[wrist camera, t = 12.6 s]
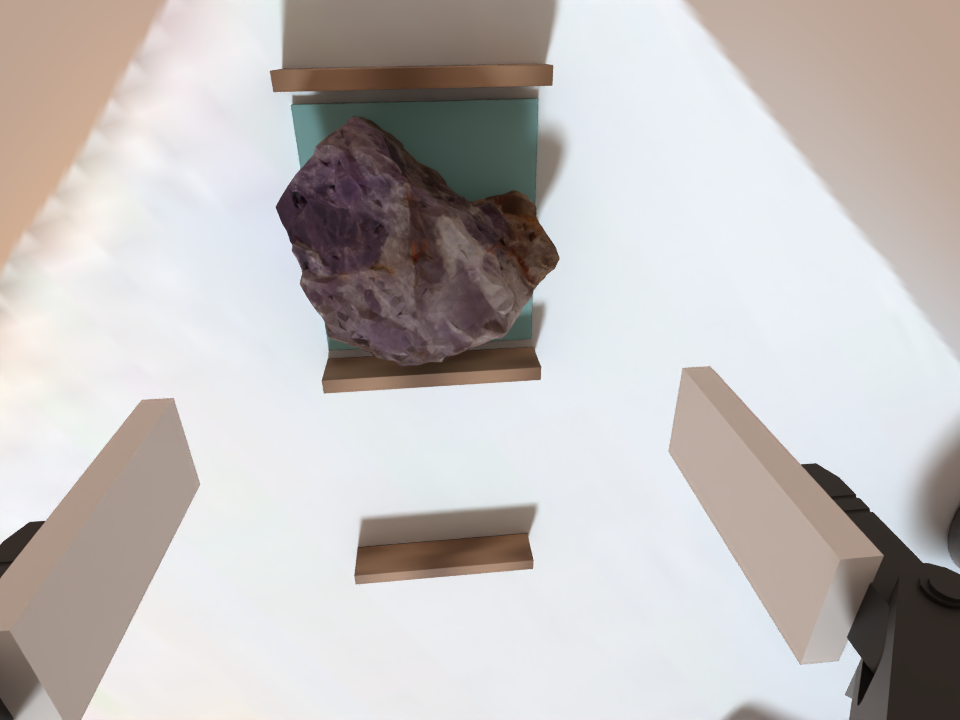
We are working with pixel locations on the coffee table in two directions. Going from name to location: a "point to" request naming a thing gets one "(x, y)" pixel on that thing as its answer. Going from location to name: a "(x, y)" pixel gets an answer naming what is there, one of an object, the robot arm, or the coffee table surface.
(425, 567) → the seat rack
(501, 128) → the marked pad
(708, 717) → the coffee table surface
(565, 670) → the coffee table surface
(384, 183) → the rock
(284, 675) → the coffee table surface
